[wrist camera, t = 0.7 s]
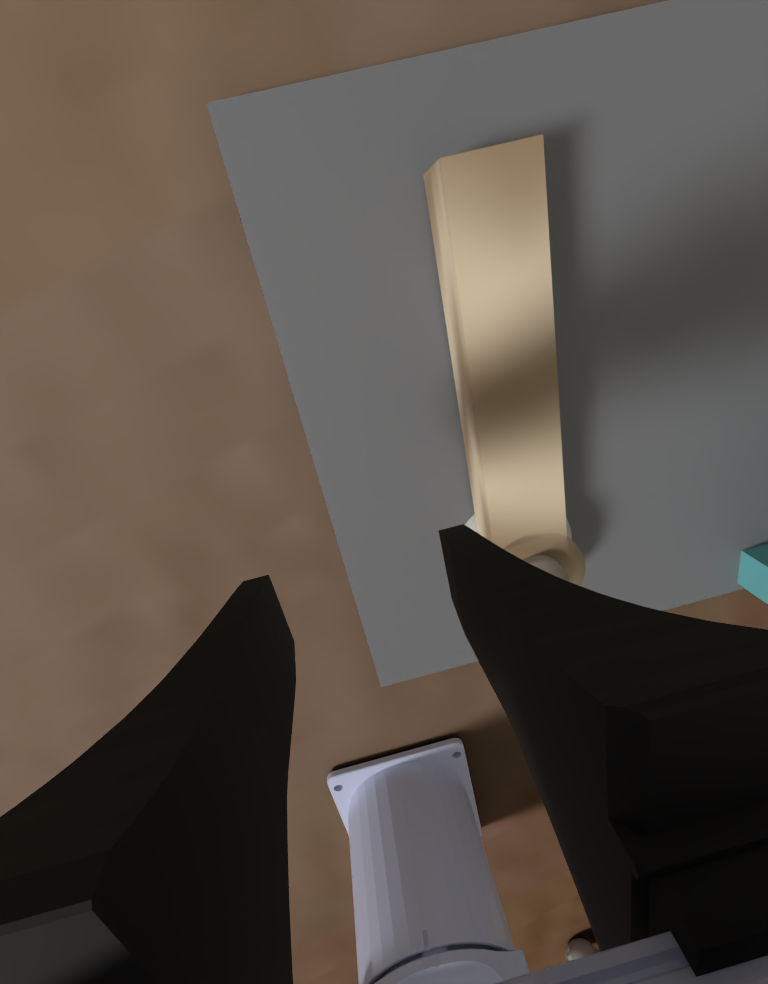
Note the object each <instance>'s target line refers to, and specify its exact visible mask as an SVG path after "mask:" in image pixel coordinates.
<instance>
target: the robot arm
mask: <svg viewBox="0 0 768 984" xmlns="http://www.w3.org/2000/svg"><path fill="white" fill-rule="evenodd" d="M439 536H440V541H441V546H442V552H443V557H444V562H445V567H446V572H447V578H448V583H449V588H450V593H451V598H452V601H453V604H454V607H455V610H456V612H457V615H458V618H459V620H460V623H461V626H462V628H463V631H464V633H465V636H466V638H467V640H468V641H469V643H470V645H471V647H472V649H473V651H474V653H475V655H476V657H477V659H478V661H479V663H480V665H481V667H482V668H483V670H484V672H485V674H486V676H487V678H488V680H489V682H490V684H491V686H492V687H493V689H494V691H495V693H496V695H497V697H498V699H499V701H500V703H501V705H502V706H503V708H504V710H505V712H506V714H507V716H508V718H509V721H510V723H511V725H512V727H513V729H514V731H515V733H516V736H517V738H518V741H519V743H520V746H521V748H522V750H523V753H524V755H525V758H526V760H527V763H528V765H529V768H530V770H531V773H532V775H533V777H534V780H535V783H536V785H537V788H538V790H539V793H540V795H541V798H542V800H543V803H544V805H545V808H546V810H547V813H548V815H549V818H550V820H551V823H552V825H553V828H554V831H555V833H556V836H557V838H558V841H559V844H560V846H561V849H562V851H563V854H564V857H565V859H566V862H567V864H568V867H569V870H570V872H571V875H572V877H573V880H574V883H575V885H576V888H577V890H578V893H579V896H580V899H581V901H582V904H583V907H584V909H585V912H586V915H587V917H588V920H589V923H590V925H591V928H592V931H593V933H594V936H595V939H596V941H597V944H598V947H599V949H600V952H598V953H595V954H591V955H588V956H585V957H581V958H578V959H575V960H571V961H568V962H565V963H561V964H558V965H555V966H551V967H548V968H544V969H541V970H538V971H534V972H531V973H530V972H529V969H528V965H527V962H526V959H525V956H524V953H523V950H522V949H517V950H515V948H514V944H513V941H512V938H511V934H510V931H509V928H508V925H507V921H506V918H505V915H504V911H503V908H502V905H501V902H500V898H499V895H498V892H497V888H496V885H495V882H494V879H493V875H492V872H491V869H490V865H489V862H488V859H487V855H486V852H485V849H484V846H483V842H482V839H481V836H482V830H481V825H480V821H479V816H478V811H477V806H476V802H475V797H474V792H473V788H472V783H471V778H470V774H469V769H468V764H467V760H466V755H465V750H464V746H463V743H462V741H461V739H459V738H451V739H447V740H444V741H440V742H437V743H433V744H429V745H426V746H422V747H418V748H415V749H411V750H408V751H404V752H400V753H397V754H393V755H390V756H386V757H382V758H379V759H375V760H372V761H368V762H364V763H361V764H357V765H354V766H350V767H346V768H343V769H339V770H336V771H333V772H331V773H330V774H328V776H327V784H328V786H329V789H330V791H331V794H332V796H333V799H334V801H335V803H336V806H337V808H338V811H339V813H340V815H341V818H342V820H343V823H344V825H345V828H346V830H347V832H348V835H349V840H350V856H351V871H352V886H353V901H354V917H355V932H356V947H357V962H358V978H359V984H768V630H766V629H759V628H752V627H745V626H738V625H731V624H725V623H718V622H712V621H706V620H701V619H697V618H692V617H687V616H682V615H677V614H673V613H668V612H664V611H660V610H656V609H652V608H648V607H644V606H640V605H637V604H633V603H630V602H626V601H623V600H620V599H616V598H613V597H610V596H607V595H604V594H601V593H598V592H595V591H592V590H589V589H587V588H584V587H581V586H579V585H576V584H574V583H571V582H568V581H566V580H564V579H561V578H559V577H557V576H554V575H552V574H550V573H548V572H546V571H544V570H542V569H540V568H538V567H535V566H533V565H531V564H529V563H527V562H526V561H524V560H522V559H520V558H518V557H516V556H514V555H513V554H511V553H509V552H507V551H506V550H504V549H502V548H501V547H499V546H497V545H496V544H494V543H493V542H491V541H489V540H488V539H486V538H485V537H483V536H481V535H480V534H478V533H477V532H475V531H474V530H472V529H470V528H469V527H467V526H466V525H464V524H462V525H458V526H454V527H450V528H446V529H443V530H439ZM295 686H296V667H295V648H294V640H293V637H292V634H291V632H290V629H289V626H288V624H287V621H286V619H285V616H284V613H283V611H282V608H281V606H280V603H279V600H278V598H277V595H276V593H275V590H274V587H273V585H272V582H271V580H270V577H269V575H266V576H262V577H258V578H254V579H251V580H247V581H243V582H242V583H241V585H240V586H239V587H238V588H237V589H236V591H235V592H234V593H233V594H232V596H231V597H230V598H229V600H228V601H227V602H226V604H225V605H224V606H223V608H222V609H221V610H220V611H219V613H218V614H217V615H216V617H215V618H214V619H213V620H212V622H211V623H210V624H209V626H208V627H207V628H206V629H205V631H204V632H203V633H202V635H201V636H200V637H199V638H198V640H197V641H196V642H195V643H194V644H193V645H192V647H191V648H190V649H189V650H188V651H187V652H186V654H185V655H184V656H183V657H182V658H181V659H180V661H179V662H178V663H177V664H176V665H175V666H174V668H173V669H172V670H171V671H170V672H169V673H168V674H167V675H166V677H165V678H164V679H163V680H162V681H161V682H160V683H159V684H158V685H157V686H156V687H155V688H154V689H153V690H152V691H151V692H150V693H149V694H148V695H147V696H146V697H145V698H144V699H143V700H142V701H141V702H140V703H139V704H138V705H137V706H136V707H135V708H134V709H133V710H132V711H131V712H130V713H129V714H128V715H127V716H126V717H125V718H124V719H122V720H121V721H120V722H119V723H118V724H117V725H116V726H114V727H113V728H112V729H111V730H110V731H109V732H108V733H106V734H105V735H104V736H103V737H102V738H101V739H100V740H98V741H97V742H96V743H95V744H94V745H93V746H91V747H90V748H89V749H88V750H87V751H86V752H85V753H83V754H82V755H81V756H80V757H79V758H78V759H76V760H75V761H74V762H73V763H71V764H70V765H69V766H68V767H66V768H65V769H64V770H63V771H61V772H60V773H59V774H57V775H56V776H55V777H54V778H52V779H51V780H50V781H49V782H47V783H46V784H45V785H43V786H42V787H41V788H39V789H38V790H37V791H35V792H34V793H33V794H31V795H30V796H29V797H27V798H26V799H25V800H23V801H22V802H21V803H19V804H18V805H17V806H15V807H14V808H12V809H11V810H10V811H8V812H7V813H5V814H4V815H3V816H1V817H0V984H293V975H292V955H291V933H290V911H289V881H288V845H287V784H288V768H289V757H290V745H291V734H292V723H293V711H294V699H295Z"/></svg>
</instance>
